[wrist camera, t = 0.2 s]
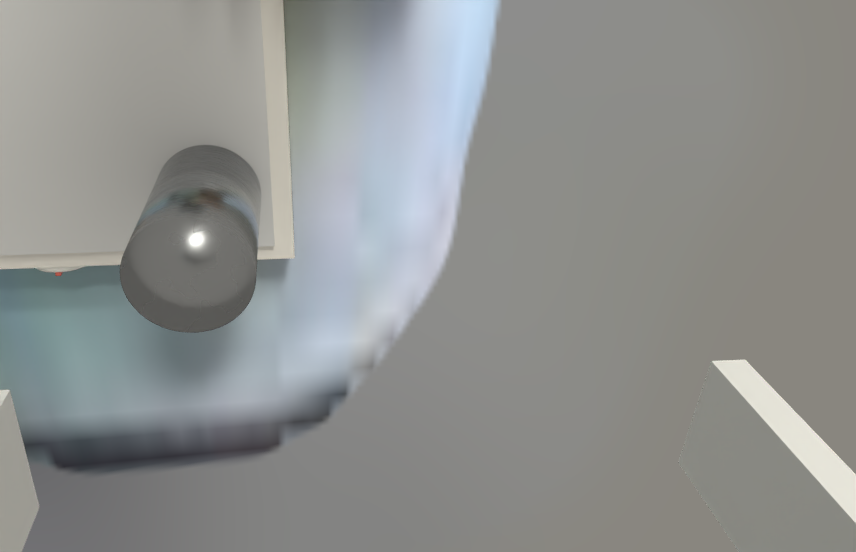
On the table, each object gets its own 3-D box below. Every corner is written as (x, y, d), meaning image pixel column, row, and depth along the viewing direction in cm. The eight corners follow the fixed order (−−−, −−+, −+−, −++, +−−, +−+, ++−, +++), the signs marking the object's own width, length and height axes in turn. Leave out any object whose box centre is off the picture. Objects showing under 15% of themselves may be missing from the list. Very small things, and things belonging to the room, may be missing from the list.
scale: (-94, -92, 31) (-142, -91, 27) (280, -74, 34) (279, -72, 30) (-4, 251, 38) (-33, 285, 35) (294, 241, 41) (295, 272, 38)
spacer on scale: (149, 145, 33) (109, 219, 26) (258, 144, 34) (251, 215, 26) (163, 240, 36) (130, 336, 28) (264, 237, 37) (259, 328, 29)
